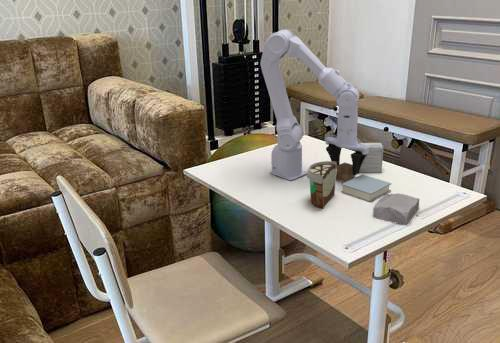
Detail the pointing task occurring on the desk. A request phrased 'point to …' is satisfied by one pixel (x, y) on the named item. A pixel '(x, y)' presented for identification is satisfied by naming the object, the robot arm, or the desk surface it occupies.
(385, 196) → the stone block
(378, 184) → the book
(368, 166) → the medicine box
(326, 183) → the food container
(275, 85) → the robot arm
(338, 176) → the walnut block
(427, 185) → the desk surface
